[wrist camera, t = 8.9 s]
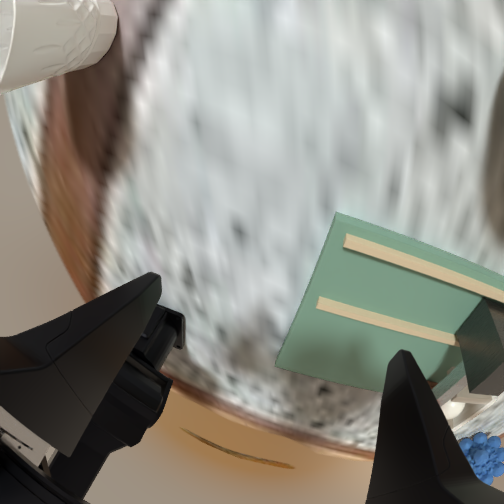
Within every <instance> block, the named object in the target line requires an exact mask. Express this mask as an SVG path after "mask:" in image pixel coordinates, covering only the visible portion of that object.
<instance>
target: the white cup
mask: <svg viewBox="0 0 504 504" xmlns="http://www.w3.org/2000/svg"><path fill="white" fill-rule="evenodd" d="M117 20H118V16H117V13H116V10H115V6H114V4H113V3H112V2H111V1H109V0H0V95H2V94H4V93H7V92H10V91H12V90H15V89H18V88H21V87H24V86H27V85H30V84H33V83H36V82H40V81H42V80H45V79H48V78H51V77H56V76H59V75H62V74H65V73H68V72H71V71H75V70H80V69H84V68H87V67H89V66H91V65H93V64H96V63H98V62H99V60H100V59H101V58H102V57H103V56H104V55H105V54H106V53H107V52H108V50H109V48H110V46H111V44H112V42H113V39H114V37H115V35H116V30H117Z"/></svg>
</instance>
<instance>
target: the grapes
mask: <svg viewBox="0 0 504 504" xmlns="http://www.w3.org/2000/svg"><path fill="white" fill-rule="evenodd" d="M459 445H460V447H461V449H462V451H463V453H464V455H465V456H466V458H467V460H468V462H469V464H470V466H471V467H472V469H473V471H474V473H475V474H476V476H477V477H478V478H479V479H480V480H481V481H482V482H484V483H486V484H488V485H491V484H492V482H493V476H494V477H498V476H501V475H502V474H503V473H504V464H503V463H502V462H503V461H504V448H503V447H502V448H499V447H500V445H501V441H500V438H499V437H497V436H491V437H490V438H489V439H488V440H487V435H486V434H484V433H477V434H476V435H475V436H474V437H473V441H472V440H471V439H469V438H465V439H463V440H462V441H460V443H459Z"/></svg>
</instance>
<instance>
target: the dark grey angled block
mask: <svg viewBox="0 0 504 504" xmlns="http://www.w3.org/2000/svg"><path fill="white" fill-rule="evenodd" d="M456 334H457V337H458V341H459V345H460V350H461V354H462V358H463V361H462V362H461V363H460V364H459V365H458V366H456V367H455V368H454V369H453V370H452V371H451V372H450V373H449V374H448V375H447V376H446V377H445V378H444V379H443V380H442V381H440V382H439V383H437V382H431V381H427V382H428V384H429V386H430V388H431V390H432V391H433V393H434V395H435V397H436V399H437V401H438V403H439V405H440V407H441V406H443V405H444V404H445V403H446V402H448V401H449V400H450V399H451V398H453V397H454V396H455V395H456V394H458V393H459V392H460V391H461V390H462V389H464V388H465V387H466V386H467V385H468V389H469V393H472V394H482V395H492V396H499V395H500V394H501V393H502V392H503V391H504V305H502V304H499V303H497V302H494V301H491V300H489V299H486V298H484V299H483V300H482V301H481V303H480V304H479V305H478V307H477V308H476V309H475V311H474V312H473V313H472V315H471V316H470V317H469V318H468V320H467V321H466V322H465V323H464V324H463V326H462V327H461V328H460V329H459V330H458V332H457V333H456Z"/></svg>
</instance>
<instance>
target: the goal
mask: <svg viewBox="0 0 504 504" xmlns="http://www.w3.org/2000/svg"><path fill="white" fill-rule="evenodd" d="M454 368H455V367H453V366H452V367H451V368H450V369H449V370H448V371H447V375H448V374H449V373H450V372H451V371H452V370H453V369H454ZM496 401H497V396H492V395H482V394H472V393H469V389H468V385H467V386H466V387H465V388H464V389H462V390H461V391H460V392H459V393H458V394H456V395H455V396H454V397H453V398H451V402H460V403H466V404H465V407H464V409H463V411H462V412H461V413H460V414H459V415H458V416H457V417H455V418H453V419H448V420H447V421H448V423H449V425H450V427H451V429H452V432H454V431H455V430H457V429H459V428H460V427H462V426H463V425H465V424H466V423H468V422H469V421H470V420H472V419H473V418H475V417H476V416H477V415H479V414H480V413H482V412H483V411H484V410H486V409H487V408H488V407H490V406H491V405H492V404H493V403H495V402H496Z"/></svg>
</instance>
